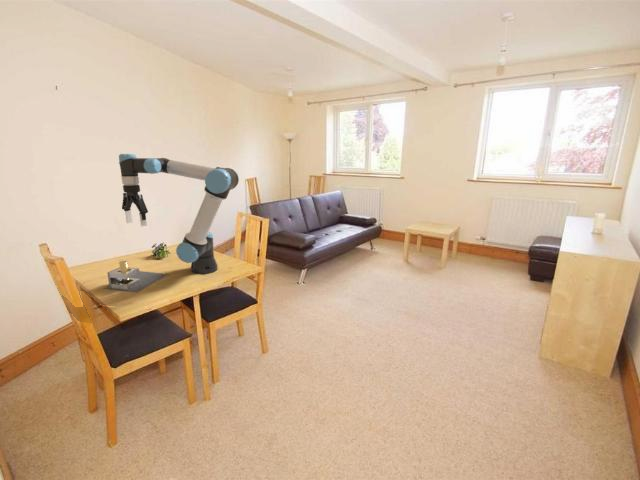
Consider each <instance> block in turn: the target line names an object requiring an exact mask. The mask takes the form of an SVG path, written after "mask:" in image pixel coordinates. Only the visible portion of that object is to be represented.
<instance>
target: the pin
mask: <svg viewBox="0 0 640 480" xmlns="http://www.w3.org/2000/svg"><path fill="white" fill-rule="evenodd" d="M119 267H120V271H121V272H124V273H125V272H128V271H129V269H128V267H129V263H128V261H127V260H122V261H119ZM129 282H130V278H128V279H122V283H124V284H127V283H129Z"/></svg>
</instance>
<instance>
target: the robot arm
mask: <svg viewBox="0 0 640 480" xmlns="http://www.w3.org/2000/svg"><path fill="white" fill-rule="evenodd" d="M118 160H119V161H118V164H119V169H120V174H121V176H120V177H121V181H122V182H121V183H122V190H123V194H122V197H123V198H122V205H121V209H122V210H123V211H124V215H125V221H126V224H132V223H133V218H132V217H133V216H132V209H131V208H132V205H133V204H134V205H135V208H137V211H138V212H139V214H138V215H139V222H140V227H145V226H148V224H147V213H149V210H148V207H147V205H146V204H145V200H144V198H143V194H142V193H140V192H141V188H140V180H139V179H140V177H139V174H159V173H165V174H169V175H175V176H179V177H184V178H189V179H195V180H199V181H200V180H201V181H204V184H205V185H204V186H205V187H204V188H203V189H204V192H205V195H204V197H203V200H202V202H201V205H200V207H199V209H198V212H197V214H196V216H195V219H194V221H193V224H192V225H191V226H192V227H191V228H190V231H189V232H187V233H185V235H184V237H183V240H182V241H181V242H180V243H179V244H178V245H177V246H176V250H175V251H176V255H177V257H178V259H179V260H180V261H182V262H183V263H185V264H190V263H191V264H190V265H191V266H190V271H191V272H192V273H194V274H200V275H206V274H212V273H214V272H216V271H218V268H219V267H218V263H217V261H216V258H215V251H214V235H213V233H211V232H210V230H211V228H212V225H213V223H214V220H215V218H216V216H217V213H218V211H219V208H220V206H221V205H222V202H223V201H224V200H226V199H227V198H228V196H229V194H230V191H231V190H233V189H235V188H236V187H237V186H238V184H239V181H240V179H239V174H238V173H237V171H235V170H234V169H232V168H231V167H230V168H229V167H219V166H216V167H215V168H214V167H209V166H204V165H200V164H199V165H198V164H194V163H188V162H183V161H177V160H173V159H169V158H165V157H157V158H156V157H155V158H154V157H153V158H151V157H147V158H145V157H142V158H141V157H137V156H136V154H134V153H120V154H119V155H118ZM139 193H140V194H139Z"/></svg>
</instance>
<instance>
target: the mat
mask: <svg viewBox="0 0 640 480" xmlns="http://www.w3.org/2000/svg"><path fill="white" fill-rule="evenodd" d="M169 275H170V273H162V272H161V273H160V272H152V271H143V270H142V271H141V270H139V273H138V274H136V275H134V276H132V277H130V278H136V279H140V280H141V284H139V285H137V286H135V287H133V288H131V289H130V290H120V289H111V288H110V286H109V285H108V286H105V287H104V288H103V290H111V291H112V290H113V291H120V292H129V293H139V292H142V290H144V289H147V288H148V287H149V286H151V285H153V284H155V283H156V282H159V281H160V280H162V279H163V278H165V277H167V276H169Z"/></svg>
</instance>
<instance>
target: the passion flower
mask: <svg viewBox="0 0 640 480" xmlns="http://www.w3.org/2000/svg"><path fill="white" fill-rule="evenodd" d="M156 245H157V243H154V244H153V245H152V246H151V248H152V249H153V248H154V249H153V250H152V252H151V254H152V257H157V260H160V259H163V258H164V257H166V255H167V257H168V256H169V255H170V254H171V252H170V251H169V249H165V248H166V247H167V244H166V243H164V241H163V242H161V243H159V245H157V246H156ZM168 254H169V255H168Z"/></svg>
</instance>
